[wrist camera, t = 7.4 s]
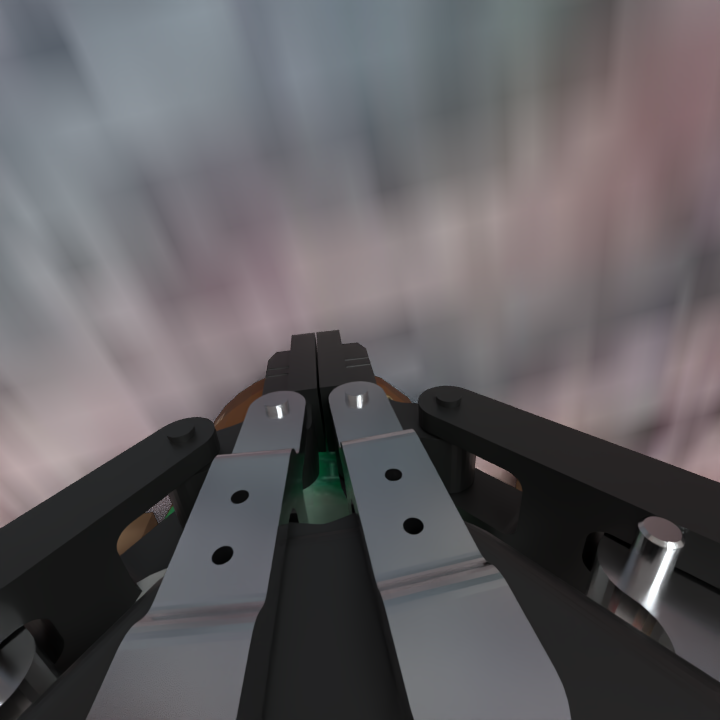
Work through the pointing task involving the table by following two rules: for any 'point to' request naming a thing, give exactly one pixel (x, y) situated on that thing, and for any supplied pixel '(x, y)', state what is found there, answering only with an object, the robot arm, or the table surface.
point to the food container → (320, 496)
